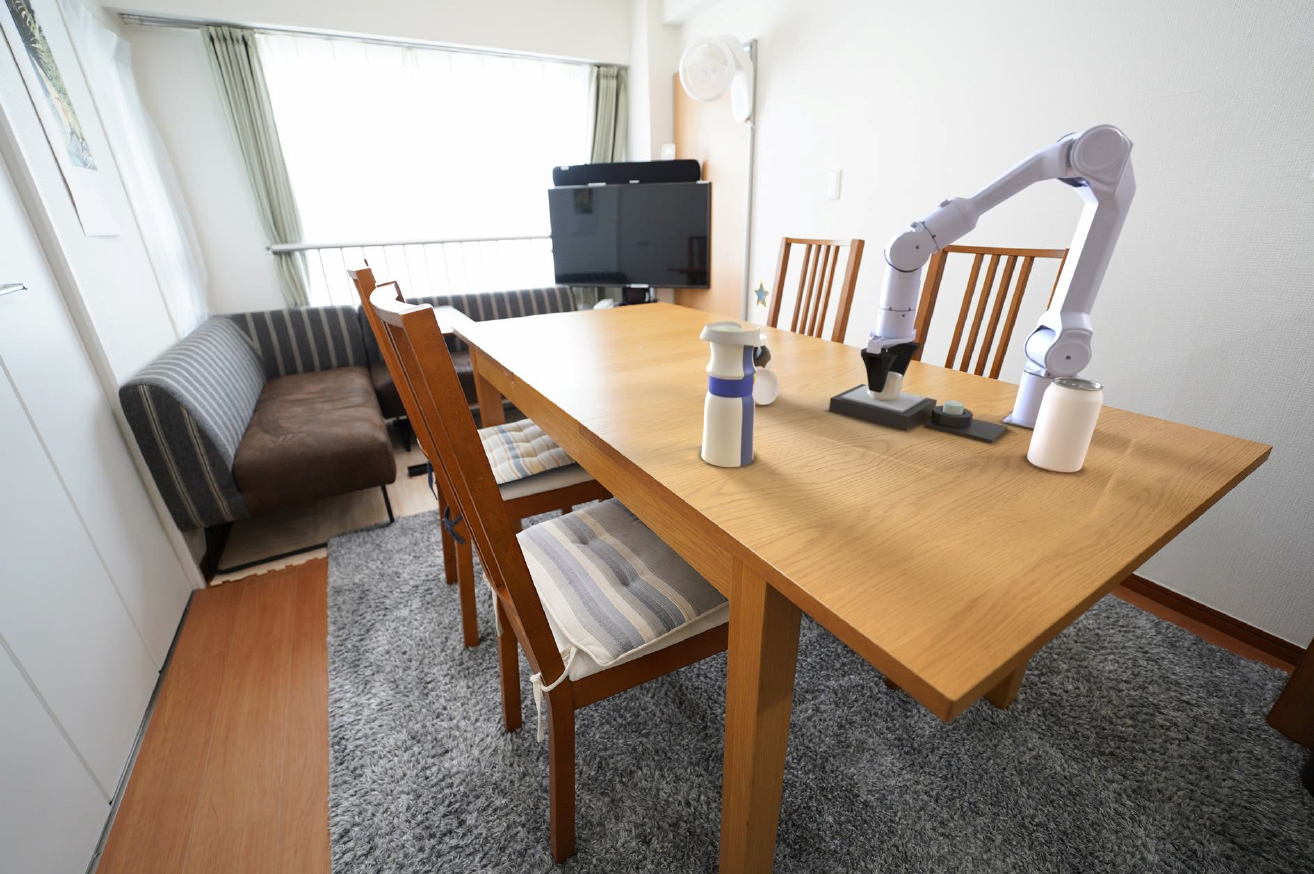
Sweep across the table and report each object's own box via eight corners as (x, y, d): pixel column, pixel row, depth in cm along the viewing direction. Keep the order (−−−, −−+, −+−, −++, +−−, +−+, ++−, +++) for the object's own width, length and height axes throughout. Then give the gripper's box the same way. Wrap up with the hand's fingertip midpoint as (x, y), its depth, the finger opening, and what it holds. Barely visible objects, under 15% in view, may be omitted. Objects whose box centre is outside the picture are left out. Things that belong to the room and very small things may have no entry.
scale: (934, 413, 97) (937, 397, 96) (906, 431, 89) (909, 414, 88) (860, 396, 106) (862, 381, 105) (828, 411, 98) (830, 395, 97)
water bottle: (721, 440, 87) (728, 277, 77) (766, 455, 81) (779, 282, 71) (687, 455, 81) (689, 283, 72) (732, 472, 76) (741, 288, 66)
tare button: (965, 412, 91) (967, 403, 90) (958, 417, 89) (960, 407, 88) (946, 408, 93) (948, 399, 92) (939, 413, 91) (941, 403, 90)
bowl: (904, 396, 96) (908, 374, 95) (891, 403, 93) (895, 381, 91) (875, 390, 100) (878, 369, 98) (861, 396, 97) (864, 375, 95)
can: (1064, 478, 73) (1090, 393, 69) (1016, 460, 78) (1037, 380, 74) (1090, 468, 76) (1117, 386, 71) (1042, 451, 81) (1064, 374, 77)
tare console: (1006, 430, 89) (1010, 416, 88) (991, 444, 84) (994, 429, 83) (940, 415, 96) (943, 401, 95) (922, 426, 91) (925, 412, 90)
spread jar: (740, 384, 114) (742, 329, 110) (791, 394, 108) (796, 336, 103) (711, 400, 105) (712, 340, 101) (764, 411, 99) (769, 348, 94)
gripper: (892, 301, 98) (881, 374, 103) (854, 311, 89) (843, 390, 94) (933, 305, 93) (919, 381, 98) (896, 316, 84) (883, 399, 89)
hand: (885, 386), depth 96 cm, fingers open, 7 cm apart
